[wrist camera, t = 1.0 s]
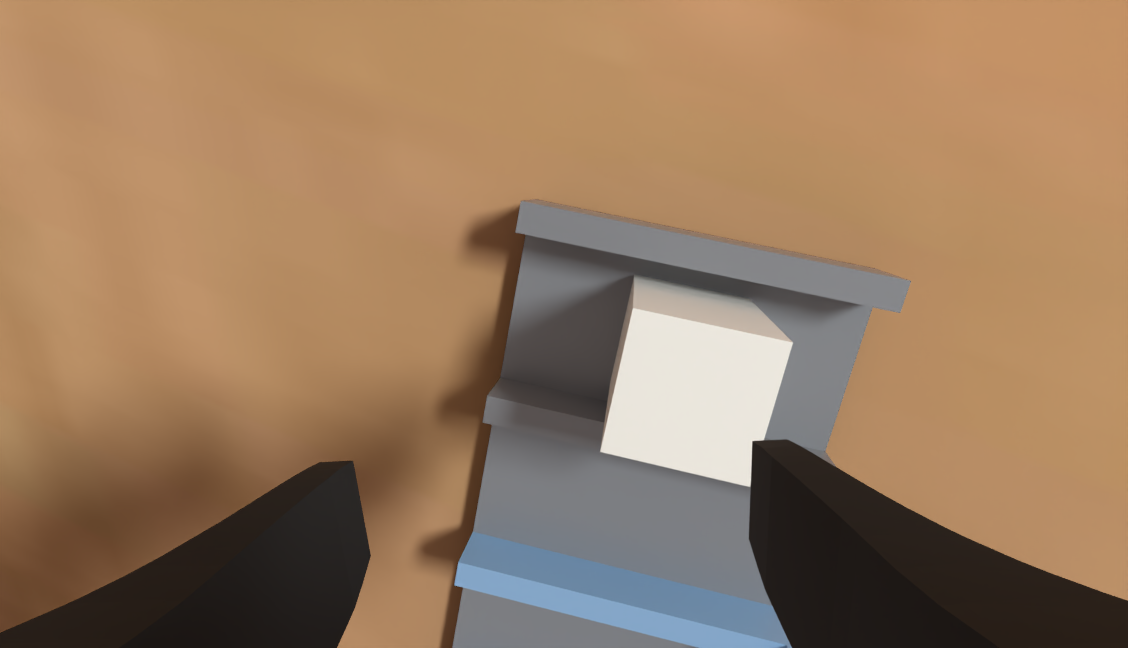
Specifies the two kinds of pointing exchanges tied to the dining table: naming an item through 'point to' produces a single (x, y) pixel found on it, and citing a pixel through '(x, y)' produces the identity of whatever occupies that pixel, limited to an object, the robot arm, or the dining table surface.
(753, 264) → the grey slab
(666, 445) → the block
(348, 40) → the dining table surface
